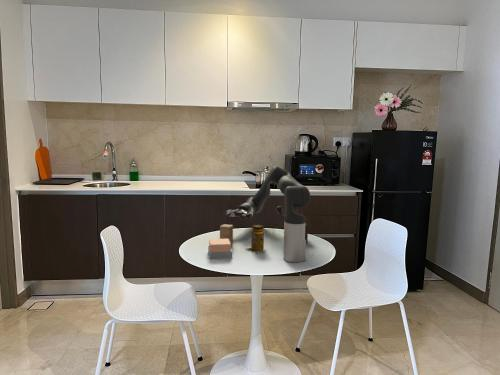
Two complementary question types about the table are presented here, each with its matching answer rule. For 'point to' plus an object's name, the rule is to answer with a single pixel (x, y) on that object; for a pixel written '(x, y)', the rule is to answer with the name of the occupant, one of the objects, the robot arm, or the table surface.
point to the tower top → (219, 245)
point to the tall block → (226, 232)
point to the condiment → (257, 239)
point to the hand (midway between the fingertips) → (234, 216)
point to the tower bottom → (219, 254)
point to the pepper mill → (279, 210)
